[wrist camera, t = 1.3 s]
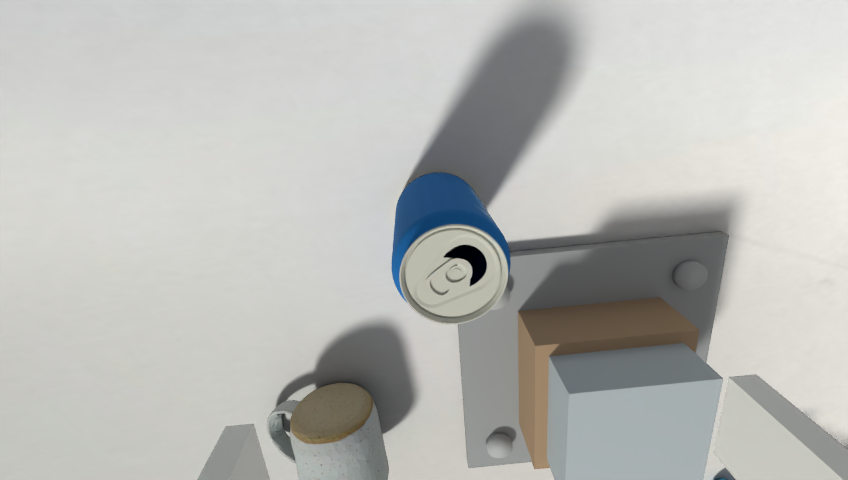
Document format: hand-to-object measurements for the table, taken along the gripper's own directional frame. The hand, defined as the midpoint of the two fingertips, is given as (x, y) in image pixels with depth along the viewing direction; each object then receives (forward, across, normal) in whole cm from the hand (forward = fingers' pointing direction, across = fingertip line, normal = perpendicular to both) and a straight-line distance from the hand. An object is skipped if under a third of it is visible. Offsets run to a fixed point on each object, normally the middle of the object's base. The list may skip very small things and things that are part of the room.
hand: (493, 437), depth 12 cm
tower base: (+22, +12, -15) cm, 29 cm away
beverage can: (+22, 0, 0) cm, 23 cm away
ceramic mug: (+23, -11, -19) cm, 32 cm away
